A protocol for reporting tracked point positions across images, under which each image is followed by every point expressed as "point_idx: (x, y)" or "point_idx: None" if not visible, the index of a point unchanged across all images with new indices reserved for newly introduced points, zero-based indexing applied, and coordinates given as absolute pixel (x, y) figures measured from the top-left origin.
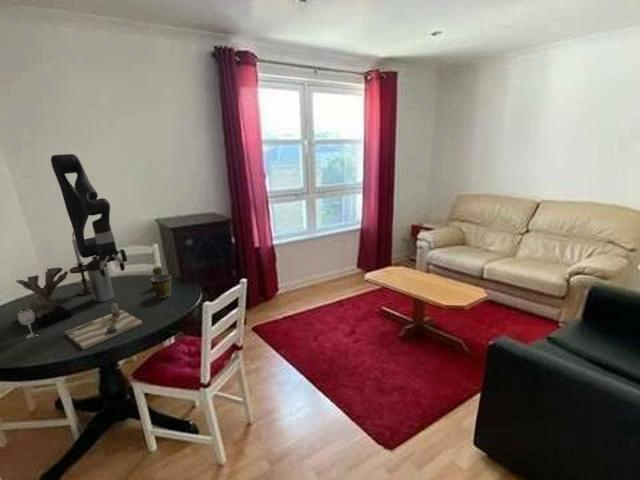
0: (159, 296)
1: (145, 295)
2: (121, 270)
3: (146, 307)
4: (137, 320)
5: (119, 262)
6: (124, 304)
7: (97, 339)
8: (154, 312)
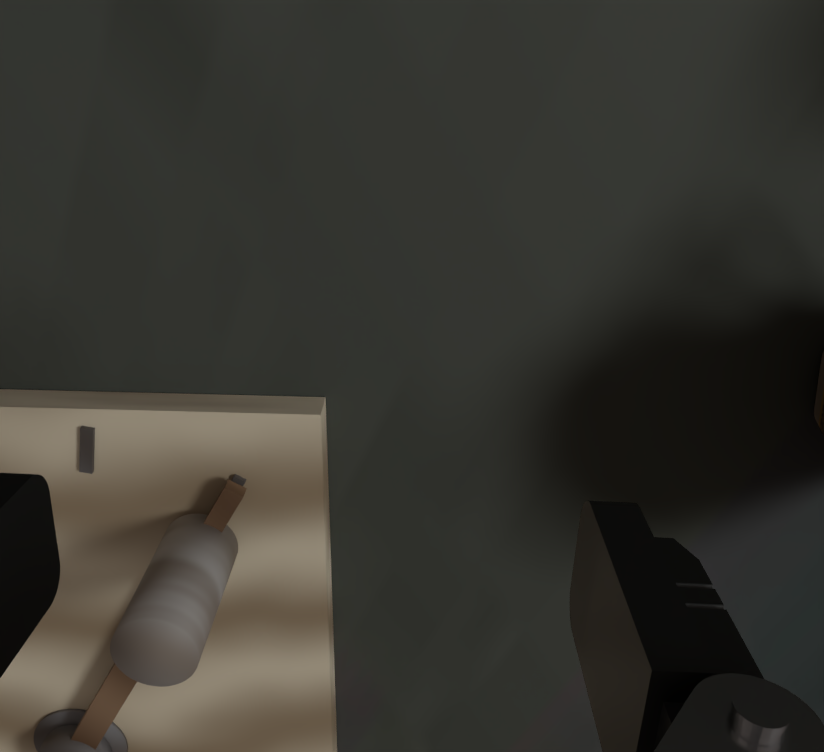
0: (818, 416)
1: (799, 138)
2: (580, 537)
3: (554, 500)
4: (314, 743)
5: (688, 700)
6: (454, 175)
7: None
8: (526, 658)
